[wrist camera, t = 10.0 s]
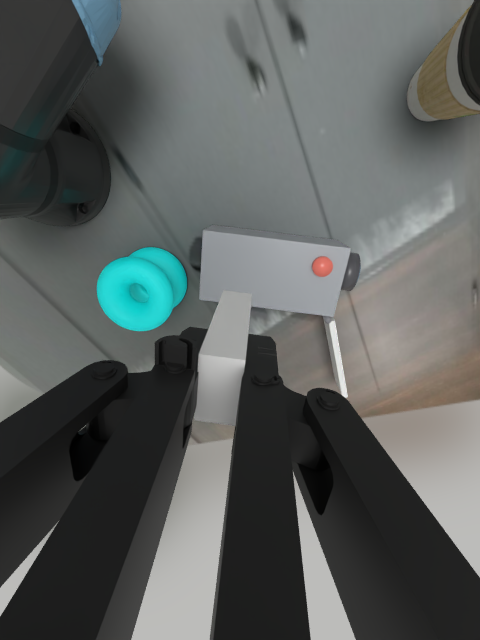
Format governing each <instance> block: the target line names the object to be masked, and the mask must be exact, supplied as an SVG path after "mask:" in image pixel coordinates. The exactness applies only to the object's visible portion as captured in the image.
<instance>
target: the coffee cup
mask: <svg viewBox="0 0 480 640" xmlns="http://www.w3.org/2000/svg"><path fill="white" fill-rule="evenodd" d="M407 103H408V107H409V110H410V112H411V113H412V115H413V116H415V117H416V118H417V119H419V120H422V121H435V120H440V119H442V120H447V119H452V118H458V117H464V116H469V115H475V114H480V0H474V2H473V4H472V5H471V6H470V7H469V8H468V9H467V10H466V12H465V13H464V14H463V15H462V16H461V17H460V19H459V20H458V21H457V22H456V23H455V25H454V26H453V27H452V28H451V29H450V30H449V32H448V33H447V34H446V35H445V36H444V38H443V39H442V40H441V41H440V42H439V43H438V45H437V46H436V47H435V48H434V49H433V51H432V52H431V53H430V54H429V56H428V57H427V58H426V60H425V62H424V63H423V64H422V65H421V67H420V68H419V69H418V70H417V71H416V73H415V74H414V76H413V78H412V79H411V81H410V84H409V87H408V92H407Z"/></svg>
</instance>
